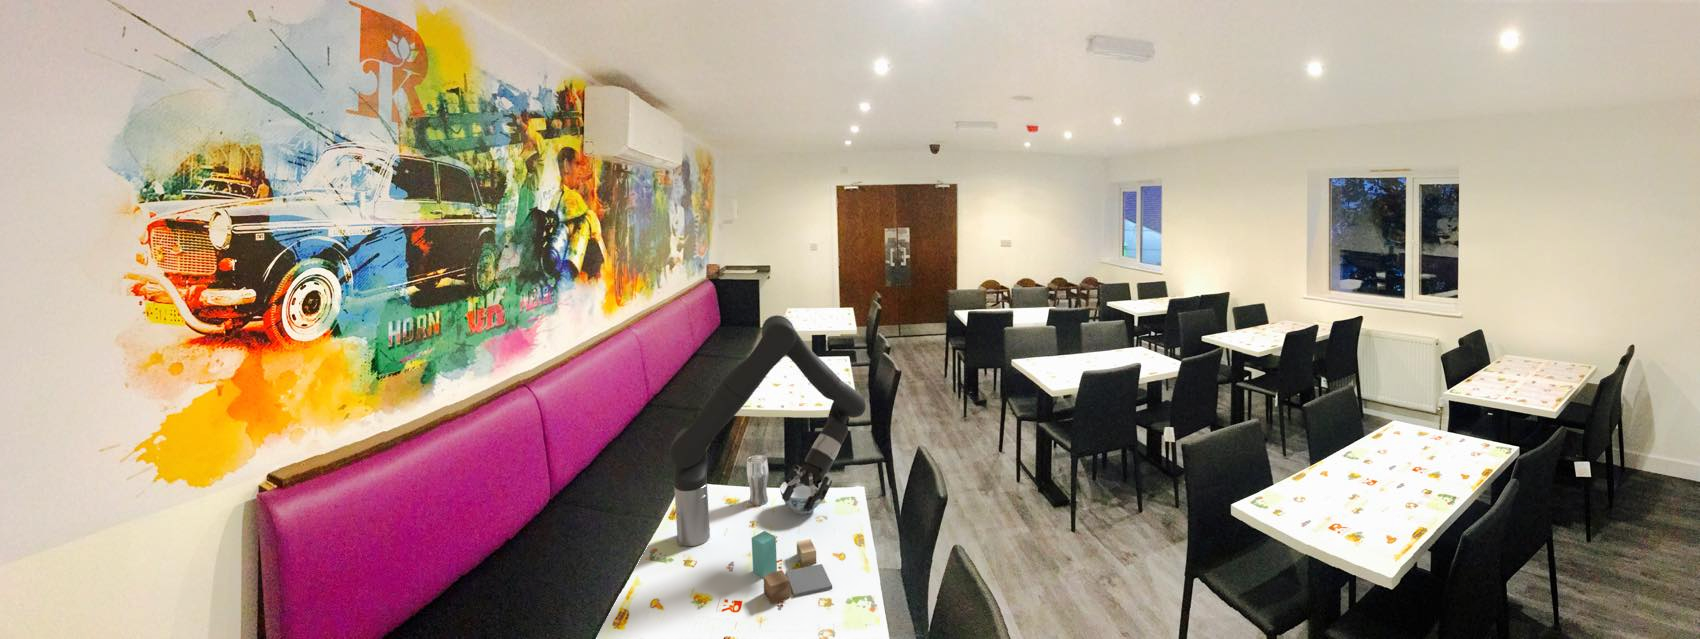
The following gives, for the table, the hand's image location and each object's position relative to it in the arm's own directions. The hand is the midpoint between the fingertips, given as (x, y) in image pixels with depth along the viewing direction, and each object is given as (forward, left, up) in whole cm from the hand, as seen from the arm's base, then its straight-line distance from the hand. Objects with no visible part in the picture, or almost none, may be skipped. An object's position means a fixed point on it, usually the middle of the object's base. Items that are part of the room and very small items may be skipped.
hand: (795, 505), depth 165 cm
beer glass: (-5, +33, -15) cm, 37 cm away
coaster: (0, -14, -15) cm, 20 cm away
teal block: (-10, -6, -15) cm, 19 cm away
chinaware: (+8, +23, -15) cm, 29 cm away
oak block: (+2, -4, -15) cm, 15 cm away
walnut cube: (-9, -17, -15) cm, 24 cm away
